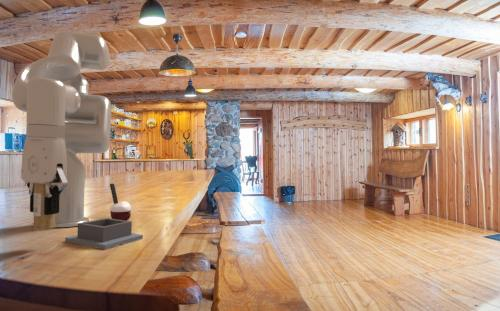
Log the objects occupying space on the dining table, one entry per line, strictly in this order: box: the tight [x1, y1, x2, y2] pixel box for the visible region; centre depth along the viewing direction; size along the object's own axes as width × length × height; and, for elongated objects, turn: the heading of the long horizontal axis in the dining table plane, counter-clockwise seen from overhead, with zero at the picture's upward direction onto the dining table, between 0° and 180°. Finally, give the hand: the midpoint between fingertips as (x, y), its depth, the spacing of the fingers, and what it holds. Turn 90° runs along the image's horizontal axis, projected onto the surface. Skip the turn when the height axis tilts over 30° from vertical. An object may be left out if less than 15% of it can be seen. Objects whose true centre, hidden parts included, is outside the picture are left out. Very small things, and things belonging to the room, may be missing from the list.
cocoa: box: [109, 183, 132, 221], centre depth 111 cm, size 10×6×12 cm, turn 37°
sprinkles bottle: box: [32, 180, 56, 232], centre depth 77 cm, size 5×5×13 cm
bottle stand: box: [64, 217, 144, 250], centre depth 86 cm, size 14×12×4 cm
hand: (44, 211), depth 77 cm, fingers closed on sprinkles bottle, 4 cm apart
